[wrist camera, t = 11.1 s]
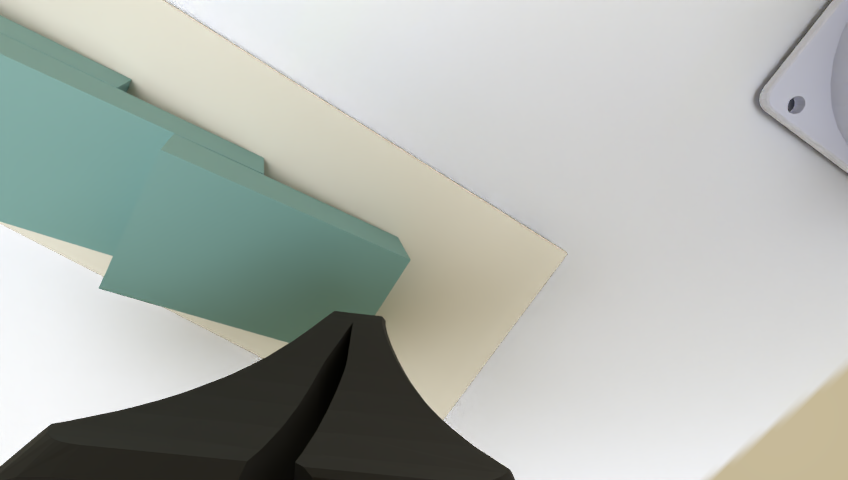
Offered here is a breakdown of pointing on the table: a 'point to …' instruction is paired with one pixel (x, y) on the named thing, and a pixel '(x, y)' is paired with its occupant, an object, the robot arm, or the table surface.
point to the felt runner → (321, 184)
